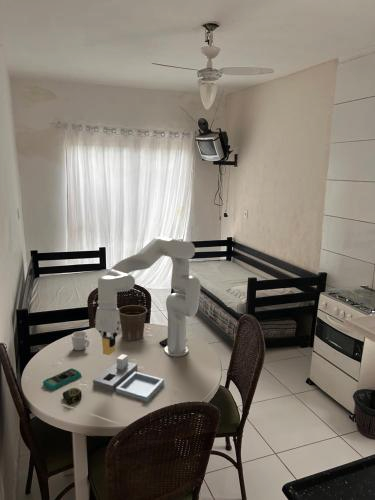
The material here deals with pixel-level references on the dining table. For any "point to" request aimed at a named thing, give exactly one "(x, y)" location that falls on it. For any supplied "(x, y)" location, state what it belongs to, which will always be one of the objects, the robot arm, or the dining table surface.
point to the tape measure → (72, 395)
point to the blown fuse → (107, 345)
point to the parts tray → (140, 386)
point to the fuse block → (114, 377)
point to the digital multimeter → (61, 379)
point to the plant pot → (132, 321)
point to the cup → (80, 340)
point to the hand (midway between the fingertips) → (109, 344)
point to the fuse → (122, 362)
